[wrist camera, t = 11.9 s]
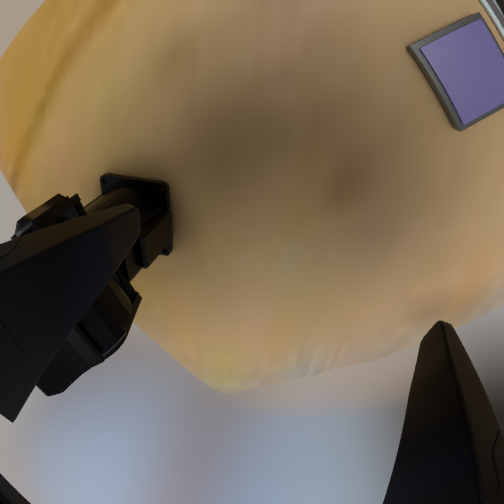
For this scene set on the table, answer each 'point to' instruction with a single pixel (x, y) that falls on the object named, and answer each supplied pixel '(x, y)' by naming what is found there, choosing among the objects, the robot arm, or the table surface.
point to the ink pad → (463, 69)
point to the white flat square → (494, 14)
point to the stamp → (501, 5)
